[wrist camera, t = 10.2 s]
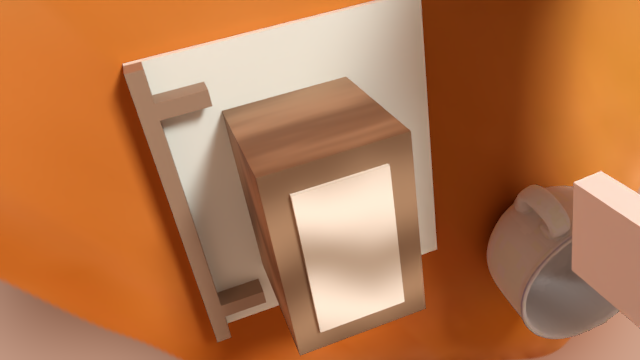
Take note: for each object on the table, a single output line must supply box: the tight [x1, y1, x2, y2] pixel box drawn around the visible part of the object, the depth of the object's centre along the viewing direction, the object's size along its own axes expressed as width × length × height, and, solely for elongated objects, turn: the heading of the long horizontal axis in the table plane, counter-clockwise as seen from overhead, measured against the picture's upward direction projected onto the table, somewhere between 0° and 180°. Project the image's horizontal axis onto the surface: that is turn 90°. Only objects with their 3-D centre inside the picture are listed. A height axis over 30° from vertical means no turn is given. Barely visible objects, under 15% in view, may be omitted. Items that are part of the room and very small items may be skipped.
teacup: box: [487, 185, 619, 339], centre depth 44 cm, size 14×11×8 cm
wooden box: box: [222, 77, 426, 355], centre depth 34 cm, size 12×8×9 cm, turn 10°
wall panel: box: [123, 0, 437, 342], centre depth 38 cm, size 18×20×2 cm
